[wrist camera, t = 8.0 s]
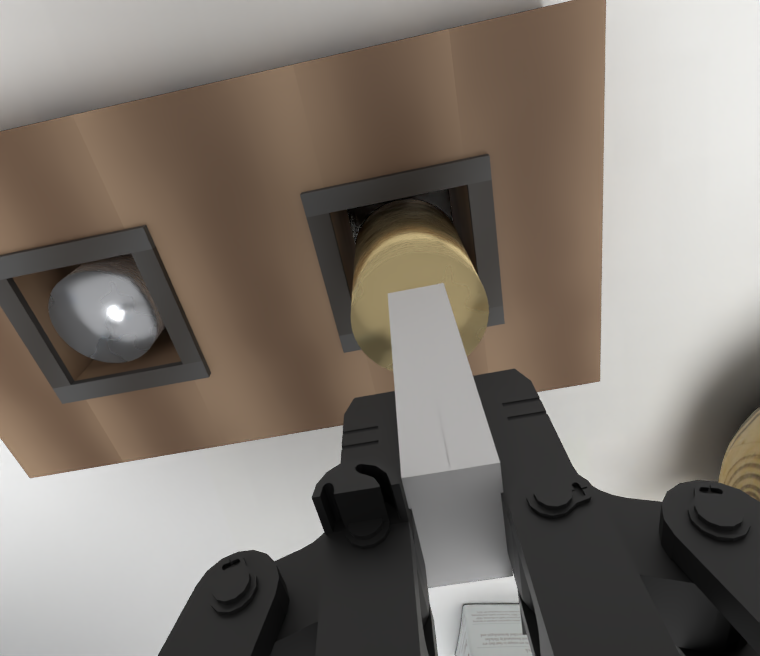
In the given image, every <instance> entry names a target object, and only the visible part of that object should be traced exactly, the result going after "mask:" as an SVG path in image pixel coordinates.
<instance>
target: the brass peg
mask: <svg viewBox="0 0 760 656" xmlns="http://www.w3.org/2000/svg"><path fill="white" fill-rule="evenodd" d="M441 283H444V286H445V289H446V292H447V295H448V299H449V302H450V305H451V308H452V311H453V315H454V318H455V321H456V324H457V327H458V330H459V334H460V337H461V340H462V343H463V346H464V349H465V353H466V356H468V355H469V354H470V353H471V352H472V351H473V350H474V349H475V348H476V346H477V345H478V344H479V342H480V341H481V339H482V337H483V335H484V333H485V330H486V327H487V323H488V317H489V304H488V299H487V295H486V292H485V289H484V287H483V285H482V283H481V281H480V279H479V277H478V275H477V273H476V271H475V269H474V266H473V264H472V262H471V260H470V258H469V256H468V254H467V252H466V250H465V248H464V246H463V243H462V241H461V239H460V237H459V235H458V233H457V231H456V229H455V227H454V225H453V223H452V222H451V220H450V219H449V217H448V216H447V215H446V214H445V213H444V212H443V211H441V210H440V209H439V208H437V207H436V206H434V205H432V204H430V203H427V202H424V201H420V200H413V199H404V200H397V201H394V202H390V203H388V204H385V205H383V206H382V207H380V208H378V209H377V210H376V211H374V212H373V213H372V214H371V215H370V216H369V217H368V218H367V219H366V221H365V222H364V223H363V225H362V227H361V228H360V230H359V233H358V235H357V239H356V245H355V258H354V272H353V287H352V302H351V326H352V331H353V334H354V337H355V339H356V341H357V343H358V345H359V346H360V348H361V349H362V351H363V352H364V353H365V354H366V355H367V356H368V357H369V358H370V359H371V360H372V361H374V362H375V363H376V364H378V365H380V366H381V367H383V368H385V369H388V370H390V371H393V360H392V346H391V333H390V319H389V306H388V293H393V292H398V291H403V290H409V289H414V288H419V287H425V286H430V285H435V284H441Z"/></svg>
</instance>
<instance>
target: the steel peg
mask: <svg viewBox="0 0 760 656" xmlns="http://www.w3.org/2000/svg"><path fill="white" fill-rule="evenodd" d="M48 310H49V316H50V319H51V322H52V324H53V326H54V328H55V330H56V331H57V333H58V334H59V336H60V337H61V338H62V339H63V340H64V341H65V342H66V343H67V344H68V345H69V346H70V347H72V348H73V349H74V350H76V351H77V352H79V353H81V354H83V355H85V356H87V357H89V358H91V359H94V360H98V361H102V362H107V363H123V362H128V361H132V360H135V359H137V358H139V357H141V356H142V355H143V354H145V353H146V352H147V351H148V350H149V349H150V347H151V346H152V345H153V343H154V342H155V341H156V339H157V338H158V336H159V335H160V334H161V332H162V331H163V330H164V328H165V325H164V323H163V321H162V319H161V316H160V314H159V312H158V310H157V308H156V306H155V304H154V301H153V299H152V297H151V295H150V293H149V291H148V288H147V286H146V284H145V282H144V280H143V278H142V276H141V273H140V271H139V269H138V267H137V265H136V263H135V261H134V258H133V256H132V254H131V253H130V254H125V255H120V256H115V257H111V258H106V259H101V260H96V261H91V262H86V263H83V264H82V265H80V266H79V267H78V268H76V269H75V270H74V271H72V272H71V273H70V274H68V275H67V276H66V277H64V278H63V279H62V280H61V281H59V282H58V283H57V284H56V286H55V287H54V288H53V290H52V292H51V294H50V297H49V303H48Z"/></svg>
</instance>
